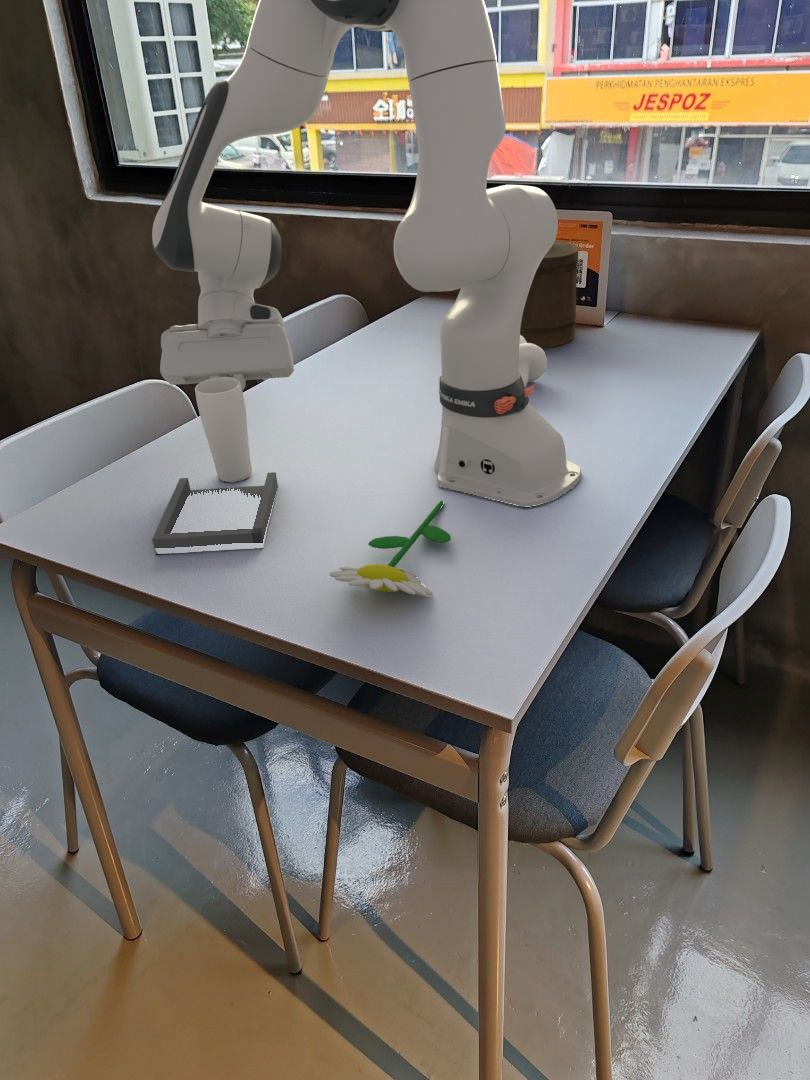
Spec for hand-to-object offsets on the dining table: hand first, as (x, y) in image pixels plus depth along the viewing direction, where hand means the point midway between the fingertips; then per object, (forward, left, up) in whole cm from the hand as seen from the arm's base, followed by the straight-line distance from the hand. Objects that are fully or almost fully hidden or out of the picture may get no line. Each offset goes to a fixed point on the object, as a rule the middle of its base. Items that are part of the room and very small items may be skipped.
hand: (227, 405), depth 126 cm
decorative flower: (-40, +3, -11) cm, 41 cm away
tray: (-12, +12, -10) cm, 20 cm away
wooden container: (-2, -76, -11) cm, 77 cm away
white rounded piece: (-15, -51, -11) cm, 55 cm away
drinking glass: (-2, +3, -10) cm, 11 cm away
